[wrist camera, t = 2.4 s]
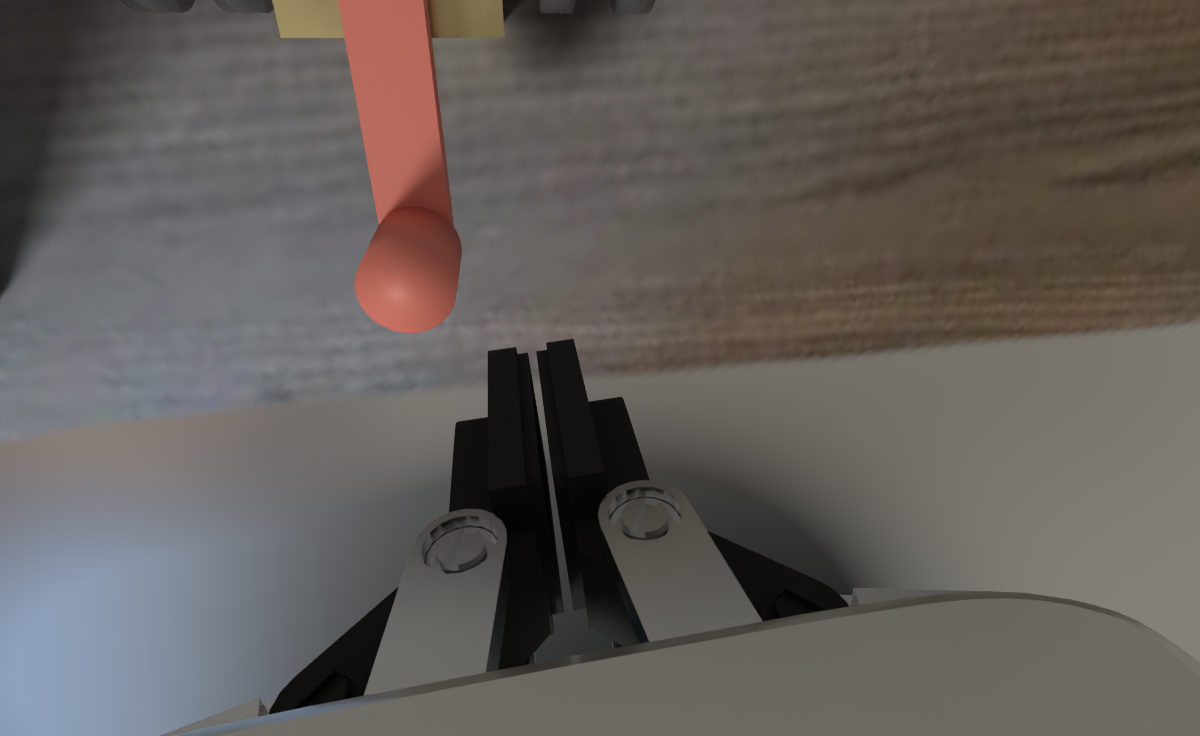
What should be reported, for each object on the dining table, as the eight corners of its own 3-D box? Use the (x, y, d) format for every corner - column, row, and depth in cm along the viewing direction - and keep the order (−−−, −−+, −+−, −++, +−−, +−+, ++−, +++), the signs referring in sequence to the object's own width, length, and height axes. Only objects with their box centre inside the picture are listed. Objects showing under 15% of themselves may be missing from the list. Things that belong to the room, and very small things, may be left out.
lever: (294, -181, 17) (228, -230, 13) (429, -176, 18) (407, -222, 13) (379, 273, 24) (355, 335, 20) (475, 268, 25) (470, 329, 21)
